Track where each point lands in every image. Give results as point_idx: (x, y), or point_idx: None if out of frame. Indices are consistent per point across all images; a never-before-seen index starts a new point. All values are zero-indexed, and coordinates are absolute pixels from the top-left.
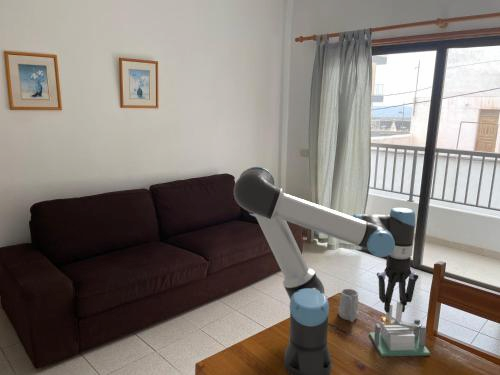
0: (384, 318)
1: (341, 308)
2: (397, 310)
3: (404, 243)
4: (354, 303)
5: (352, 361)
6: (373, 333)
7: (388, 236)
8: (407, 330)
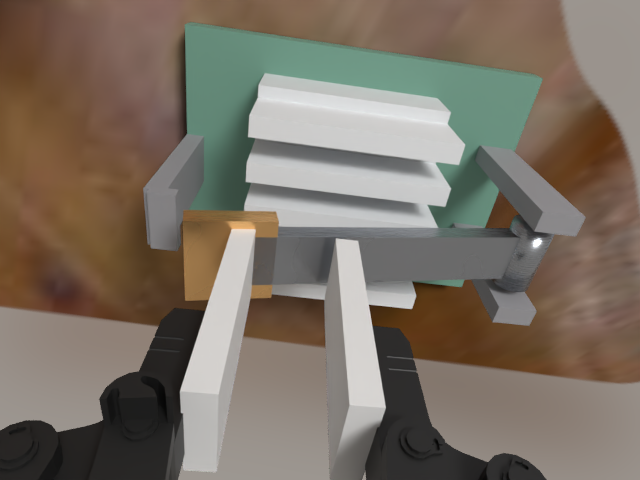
0: (207, 245)
1: None
2: (335, 330)
3: None
4: None
5: (20, 256)
6: (213, 46)
7: None
8: None
